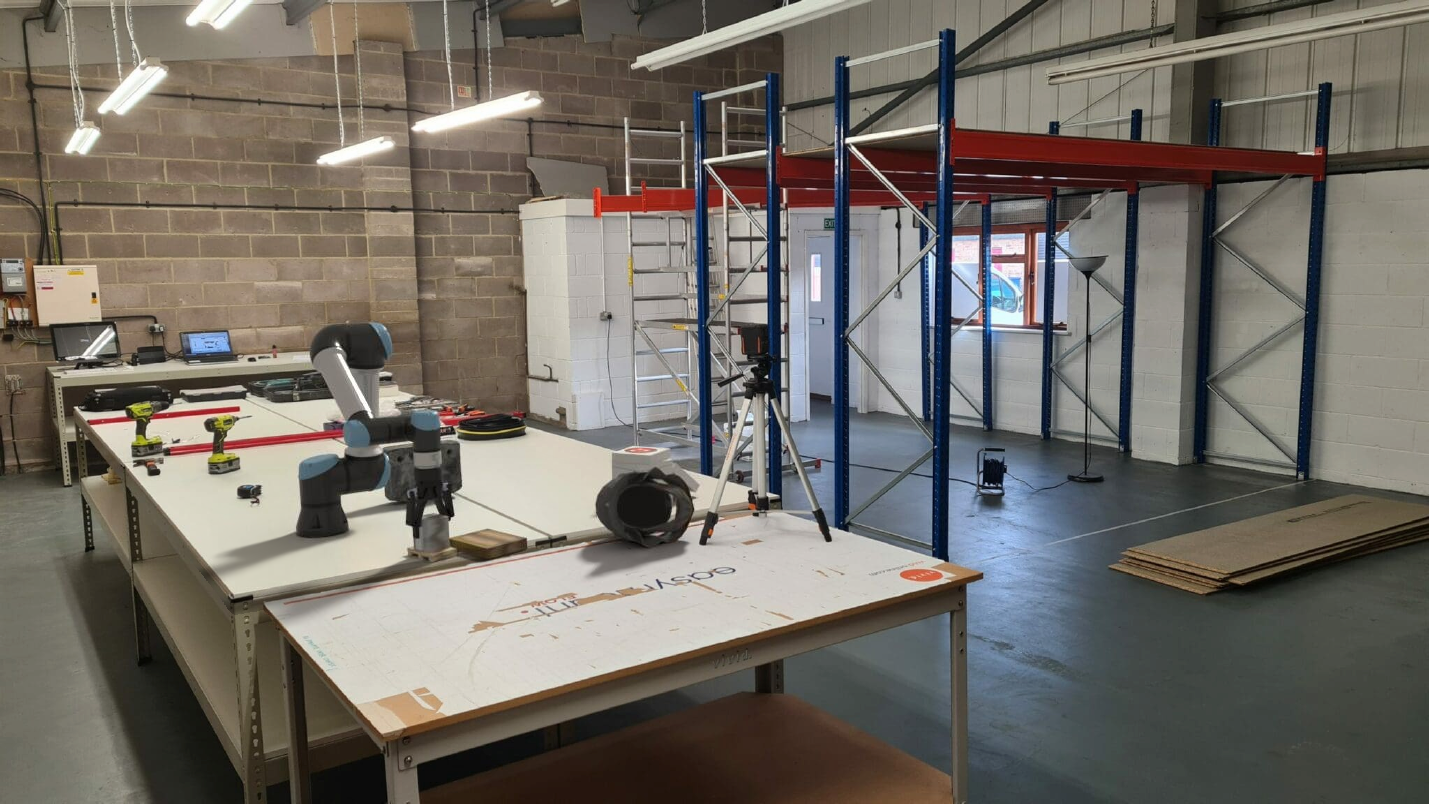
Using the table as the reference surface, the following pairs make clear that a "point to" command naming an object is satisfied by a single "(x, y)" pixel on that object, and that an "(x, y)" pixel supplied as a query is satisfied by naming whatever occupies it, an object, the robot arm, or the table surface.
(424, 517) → the block
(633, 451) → the pizza boxes
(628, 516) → the helmet
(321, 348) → the robot arm
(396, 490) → the concrete block
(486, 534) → the dock
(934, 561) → the table surface
